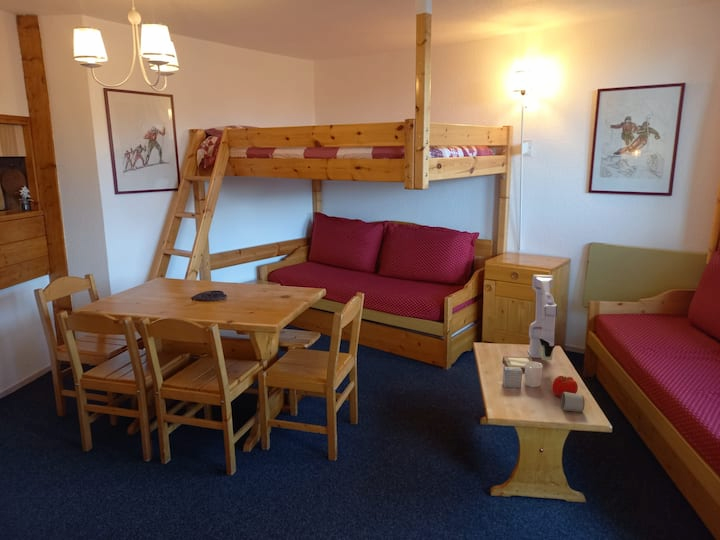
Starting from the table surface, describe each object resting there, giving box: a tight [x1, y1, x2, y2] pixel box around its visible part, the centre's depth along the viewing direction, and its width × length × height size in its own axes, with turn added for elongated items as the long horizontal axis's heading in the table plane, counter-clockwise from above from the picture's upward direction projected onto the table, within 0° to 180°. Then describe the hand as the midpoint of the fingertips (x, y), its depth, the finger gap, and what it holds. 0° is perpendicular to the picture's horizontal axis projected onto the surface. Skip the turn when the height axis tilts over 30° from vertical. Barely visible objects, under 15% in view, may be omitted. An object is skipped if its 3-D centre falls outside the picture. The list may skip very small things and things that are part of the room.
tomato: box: [551, 375, 579, 398], centre depth 231 cm, size 11×11×9 cm
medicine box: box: [502, 366, 523, 389], centre depth 241 cm, size 8×4×9 cm, turn 84°
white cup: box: [524, 361, 544, 388], centre depth 242 cm, size 8×8×10 cm
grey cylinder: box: [560, 392, 585, 413], centre depth 219 cm, size 11×8×8 cm
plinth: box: [502, 356, 533, 373], centre depth 263 cm, size 14×14×2 cm
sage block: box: [540, 345, 554, 361], centre depth 254 cm, size 4×4×6 cm
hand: (546, 354), depth 254 cm, fingers closed on sage block, 4 cm apart
